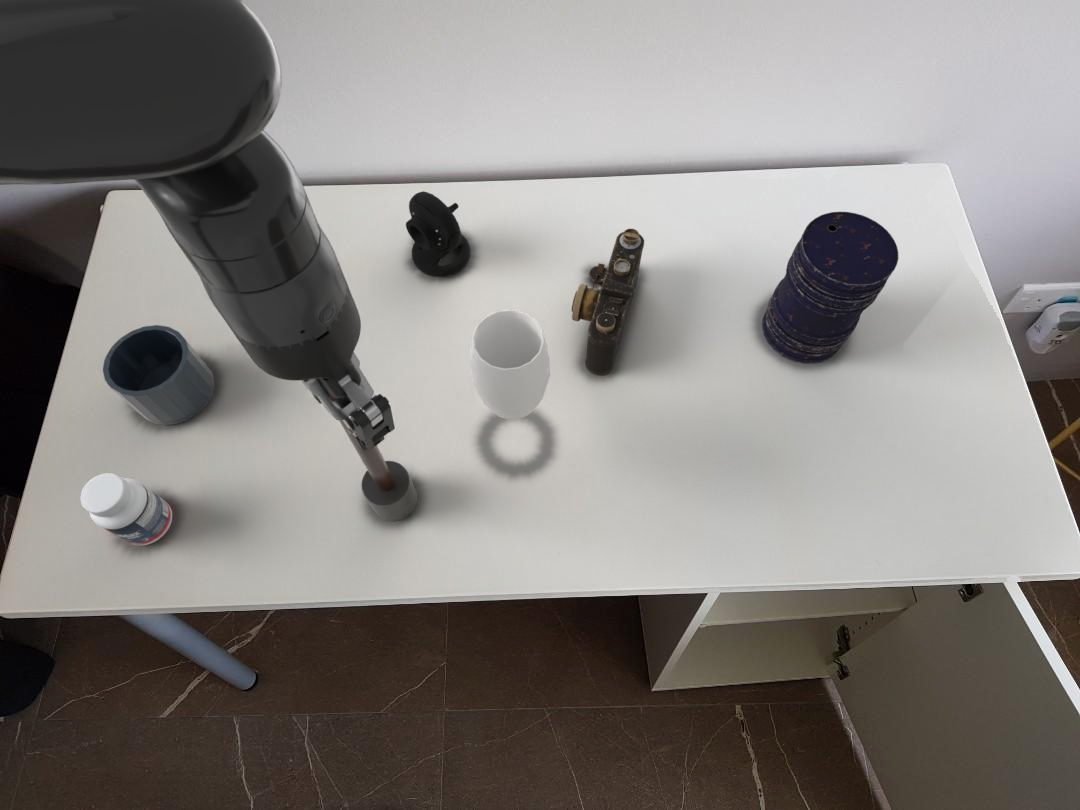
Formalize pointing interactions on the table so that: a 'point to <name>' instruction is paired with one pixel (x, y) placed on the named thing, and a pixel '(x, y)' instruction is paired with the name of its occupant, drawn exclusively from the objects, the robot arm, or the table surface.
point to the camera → (609, 301)
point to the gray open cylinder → (159, 375)
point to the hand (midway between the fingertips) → (350, 417)
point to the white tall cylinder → (510, 363)
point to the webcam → (435, 235)
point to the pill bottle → (126, 508)
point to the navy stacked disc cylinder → (828, 285)
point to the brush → (385, 483)
